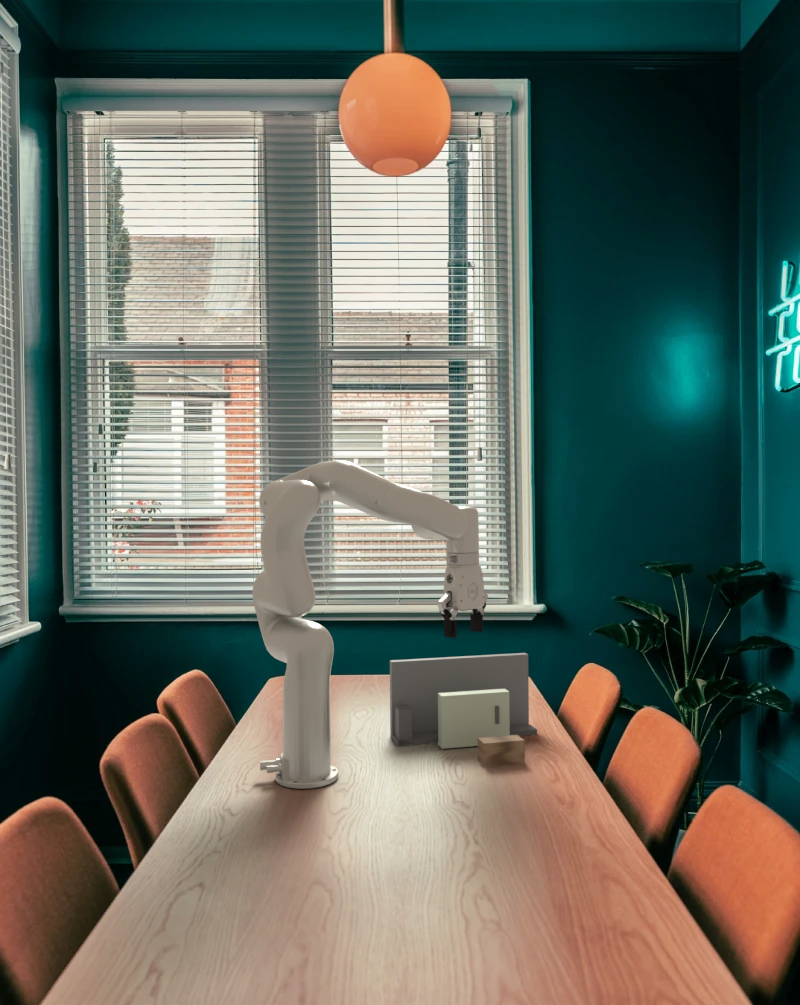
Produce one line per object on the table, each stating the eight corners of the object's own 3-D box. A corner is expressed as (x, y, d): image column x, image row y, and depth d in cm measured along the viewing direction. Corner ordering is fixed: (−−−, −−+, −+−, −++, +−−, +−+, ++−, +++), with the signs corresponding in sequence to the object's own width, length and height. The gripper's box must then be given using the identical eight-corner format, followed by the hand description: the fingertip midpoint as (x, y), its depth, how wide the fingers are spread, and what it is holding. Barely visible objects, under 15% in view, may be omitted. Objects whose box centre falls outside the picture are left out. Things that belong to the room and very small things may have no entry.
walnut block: (484, 767, 160) (483, 743, 160) (477, 761, 164) (477, 737, 164) (524, 763, 162) (524, 740, 162) (517, 757, 166) (517, 734, 166)
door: (442, 749, 171) (442, 696, 171) (438, 744, 174) (437, 693, 174) (510, 743, 175) (509, 692, 175) (505, 739, 178) (504, 688, 178)
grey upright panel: (397, 745, 175) (396, 666, 175) (390, 736, 181) (389, 660, 181) (537, 734, 182) (536, 658, 182) (525, 726, 189) (525, 652, 189)
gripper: (451, 563, 169) (452, 641, 169) (498, 558, 181) (499, 630, 182) (425, 562, 174) (427, 637, 174) (472, 557, 187) (473, 627, 187)
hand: (463, 634), depth 178 cm, fingers open, 9 cm apart
